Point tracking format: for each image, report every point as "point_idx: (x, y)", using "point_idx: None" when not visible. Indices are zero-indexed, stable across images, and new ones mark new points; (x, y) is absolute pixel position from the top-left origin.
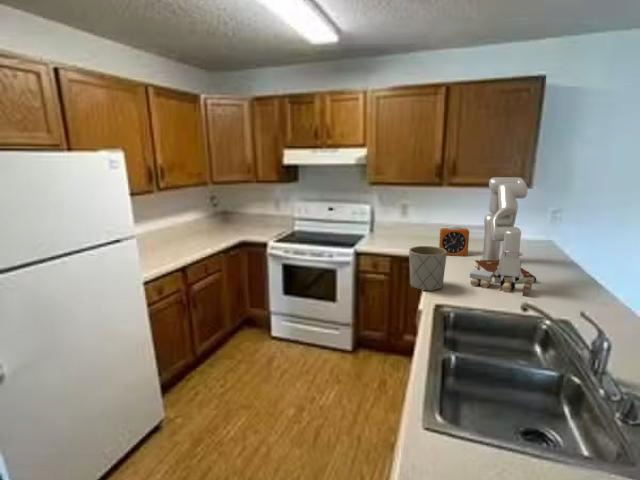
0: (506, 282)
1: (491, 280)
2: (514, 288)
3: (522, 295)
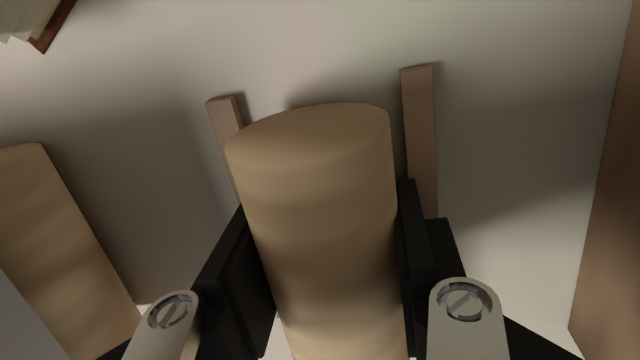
0: (308, 327)
1: (22, 190)
2: (426, 152)
3: (571, 335)
